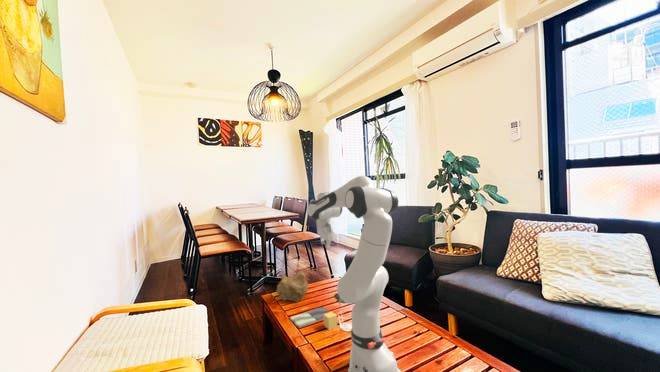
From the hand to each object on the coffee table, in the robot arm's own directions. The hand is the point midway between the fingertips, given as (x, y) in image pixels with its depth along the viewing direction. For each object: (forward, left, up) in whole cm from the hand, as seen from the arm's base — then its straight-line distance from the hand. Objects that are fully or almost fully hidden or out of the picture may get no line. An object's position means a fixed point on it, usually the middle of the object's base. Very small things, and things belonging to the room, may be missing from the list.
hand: (325, 245), depth 152 cm
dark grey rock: (+12, -22, -39) cm, 47 cm away
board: (+2, +9, -39) cm, 40 cm away
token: (-12, +6, -39) cm, 41 cm away
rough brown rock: (+30, +6, -39) cm, 50 cm away
